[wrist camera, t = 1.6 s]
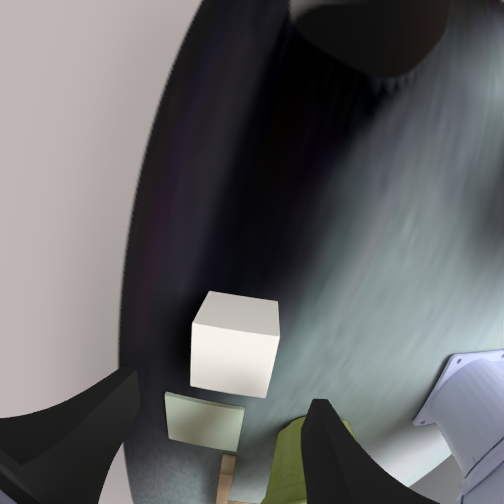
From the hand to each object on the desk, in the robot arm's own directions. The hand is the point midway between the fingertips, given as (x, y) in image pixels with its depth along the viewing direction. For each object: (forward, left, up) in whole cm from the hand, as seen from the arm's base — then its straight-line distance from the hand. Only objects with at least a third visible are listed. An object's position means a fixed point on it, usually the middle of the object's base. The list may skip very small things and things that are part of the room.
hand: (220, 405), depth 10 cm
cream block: (0, 0, -7) cm, 7 cm away
